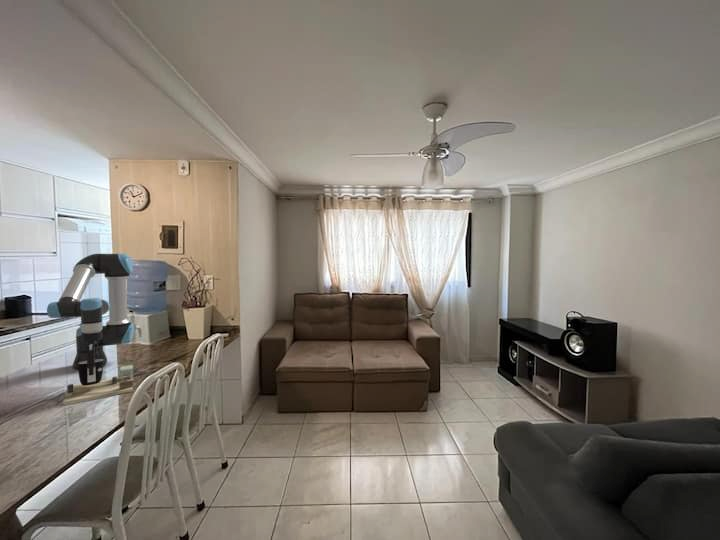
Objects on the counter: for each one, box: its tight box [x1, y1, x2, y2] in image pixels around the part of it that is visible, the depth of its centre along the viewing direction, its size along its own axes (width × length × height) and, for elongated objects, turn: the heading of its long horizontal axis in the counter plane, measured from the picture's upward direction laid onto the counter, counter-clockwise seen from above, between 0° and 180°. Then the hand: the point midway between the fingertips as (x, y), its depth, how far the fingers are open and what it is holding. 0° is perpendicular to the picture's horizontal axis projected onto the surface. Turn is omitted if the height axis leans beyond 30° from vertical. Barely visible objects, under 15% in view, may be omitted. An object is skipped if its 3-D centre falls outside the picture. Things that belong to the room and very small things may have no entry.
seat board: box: [62, 375, 134, 406], centre depth 147 cm, size 20×24×4 cm
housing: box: [119, 364, 134, 381], centre depth 158 cm, size 6×5×5 cm
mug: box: [77, 359, 105, 386], centre depth 146 cm, size 12×9×10 cm
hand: (93, 377), depth 146 cm, fingers closed on mug, 12 cm apart
